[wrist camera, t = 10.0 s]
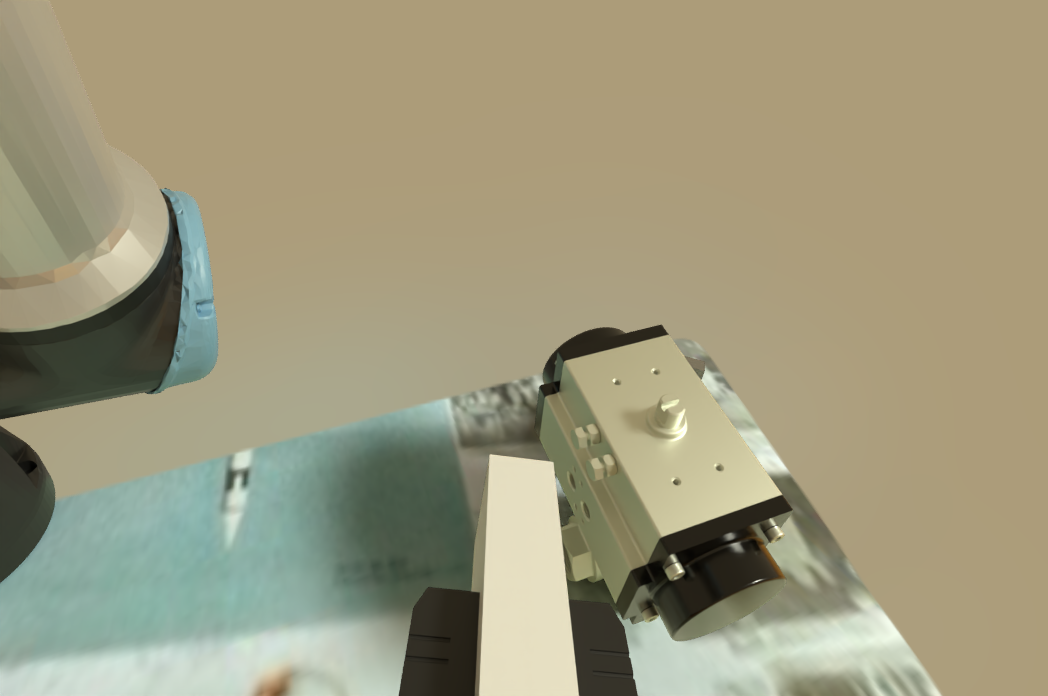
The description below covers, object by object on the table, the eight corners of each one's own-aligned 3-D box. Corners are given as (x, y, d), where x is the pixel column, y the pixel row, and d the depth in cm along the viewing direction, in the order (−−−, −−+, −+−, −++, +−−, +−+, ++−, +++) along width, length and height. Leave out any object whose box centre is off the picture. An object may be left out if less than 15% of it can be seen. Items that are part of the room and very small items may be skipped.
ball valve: (513, 467, 51) (526, 309, 37) (607, 439, 53) (651, 281, 40) (610, 702, 39) (677, 595, 26) (724, 653, 42) (838, 533, 29)
